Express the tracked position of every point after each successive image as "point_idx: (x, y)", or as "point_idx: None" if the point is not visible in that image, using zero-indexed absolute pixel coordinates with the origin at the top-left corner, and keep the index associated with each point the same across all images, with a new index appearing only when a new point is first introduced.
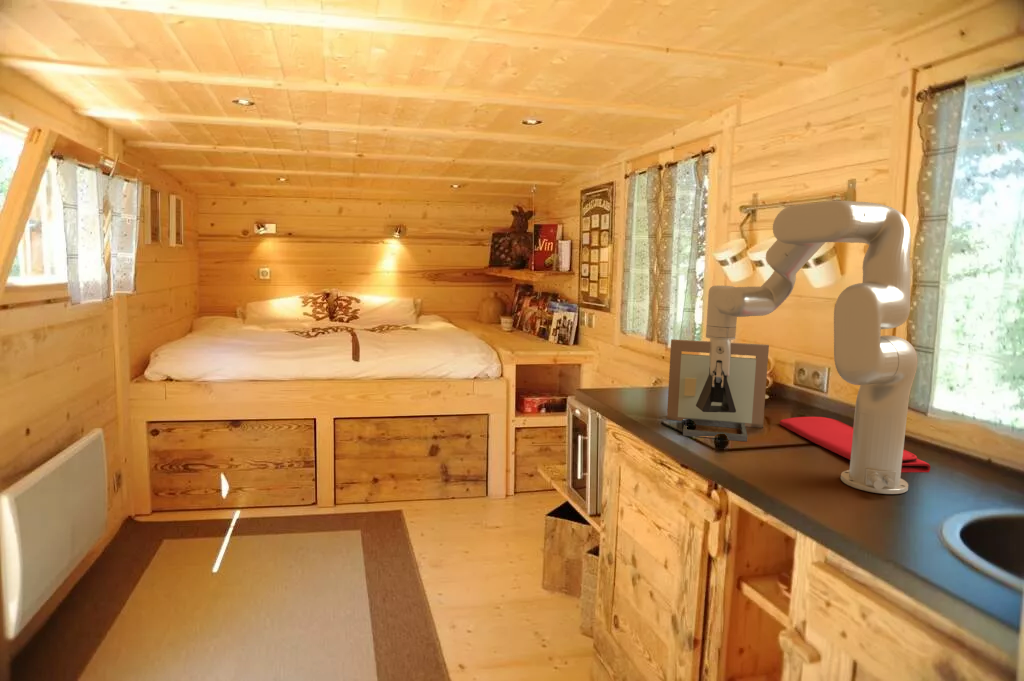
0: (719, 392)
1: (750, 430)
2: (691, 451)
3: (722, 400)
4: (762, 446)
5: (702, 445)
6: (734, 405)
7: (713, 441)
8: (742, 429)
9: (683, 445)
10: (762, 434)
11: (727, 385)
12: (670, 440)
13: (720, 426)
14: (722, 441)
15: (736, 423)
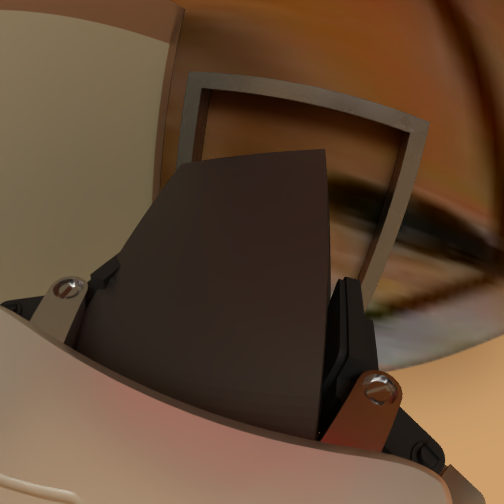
0: (372, 359)
1: (232, 54)
2: (490, 337)
3: (359, 288)
4: (472, 90)
5: (455, 301)
6: (325, 169)
7: (421, 255)
8: (320, 104)
9: (444, 347)
10: (290, 20)
11: (325, 331)
12: (394, 368)
13: None
14: (422, 221)
15: (199, 106)
